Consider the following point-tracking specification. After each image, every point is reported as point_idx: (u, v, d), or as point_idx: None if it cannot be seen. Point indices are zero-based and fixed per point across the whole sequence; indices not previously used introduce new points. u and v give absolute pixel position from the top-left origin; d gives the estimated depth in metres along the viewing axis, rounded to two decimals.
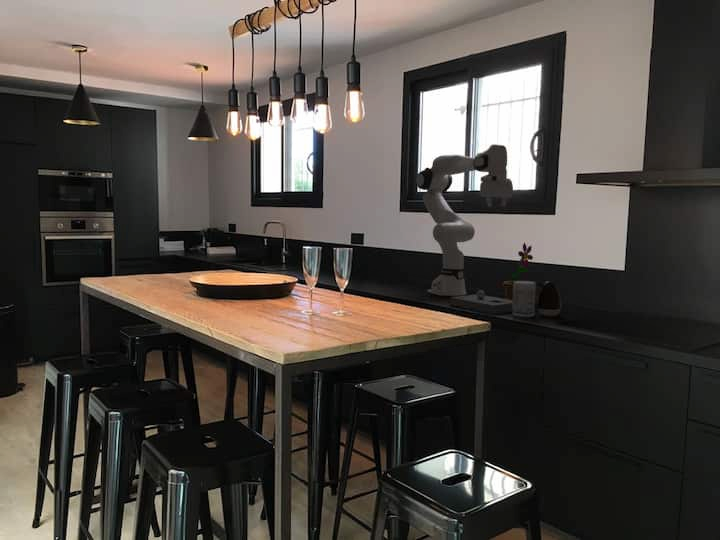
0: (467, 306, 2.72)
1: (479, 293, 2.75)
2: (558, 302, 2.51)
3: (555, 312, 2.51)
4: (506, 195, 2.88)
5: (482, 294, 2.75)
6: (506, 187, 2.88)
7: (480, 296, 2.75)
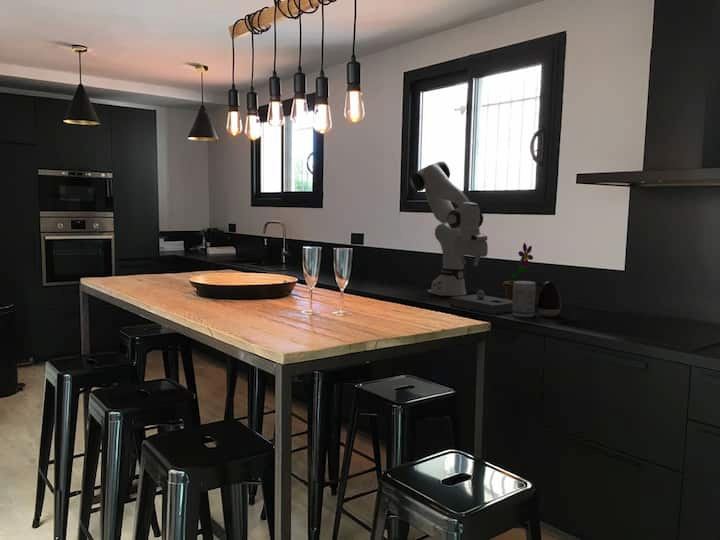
0: (467, 306, 2.72)
1: (479, 293, 2.75)
2: (558, 302, 2.51)
3: (555, 312, 2.51)
4: None
5: (482, 294, 2.75)
6: None
7: (480, 296, 2.75)
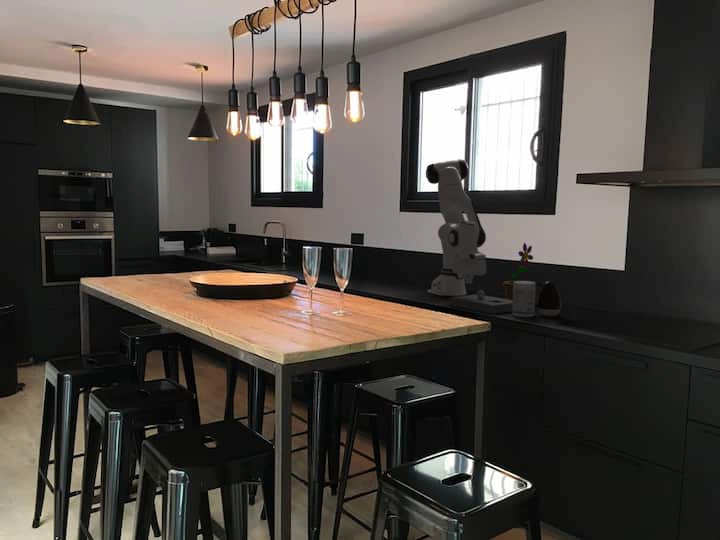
0: (467, 306, 2.72)
1: (479, 293, 2.75)
2: (558, 302, 2.51)
3: (555, 312, 2.51)
4: None
5: (482, 294, 2.75)
6: None
7: (480, 296, 2.75)
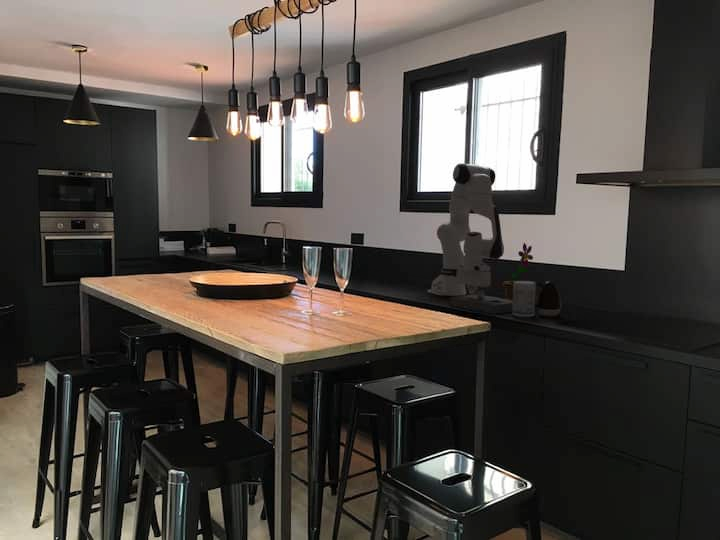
0: (467, 306, 2.72)
1: (479, 293, 2.75)
2: (558, 302, 2.51)
3: (555, 312, 2.51)
4: None
5: (482, 294, 2.75)
6: None
7: (480, 296, 2.75)
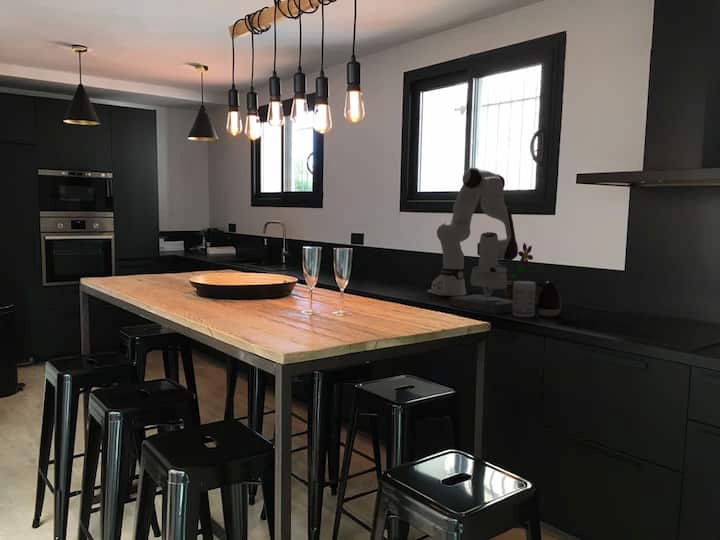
0: (467, 306, 2.72)
1: None
2: (558, 302, 2.51)
3: (555, 312, 2.51)
4: None
5: None
6: None
7: None
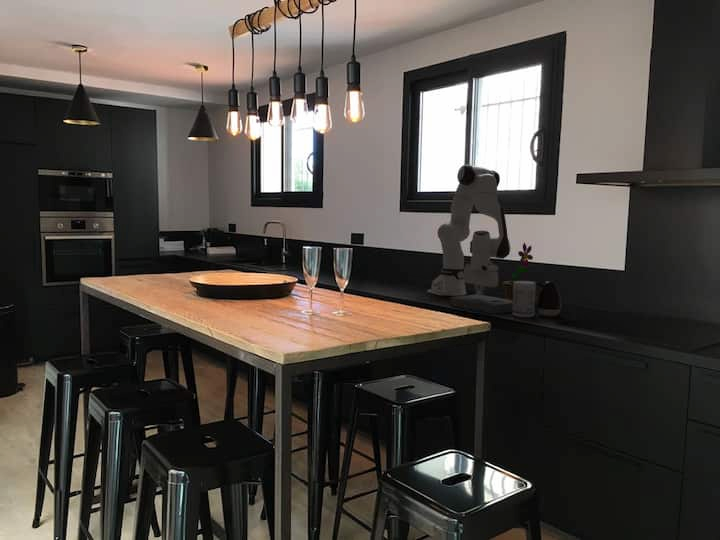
0: (467, 306, 2.72)
1: None
2: (558, 302, 2.51)
3: (555, 312, 2.51)
4: None
5: None
6: None
7: None
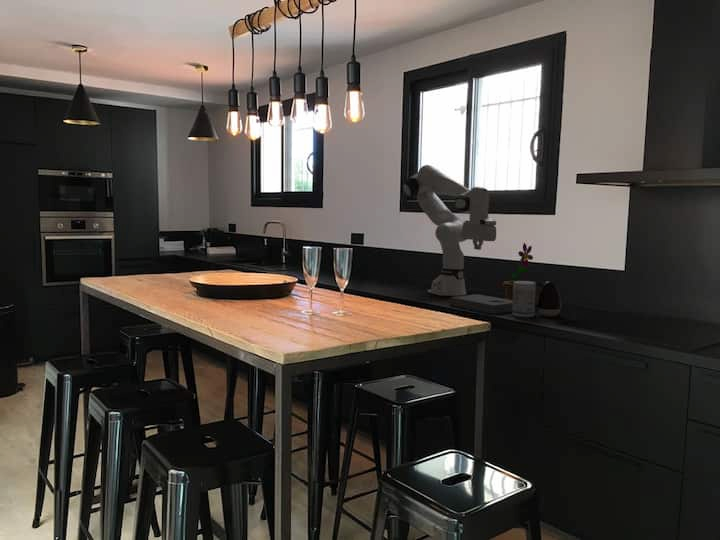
0: (467, 306, 2.72)
1: None
2: (558, 302, 2.51)
3: (555, 312, 2.51)
4: None
5: None
6: None
7: None
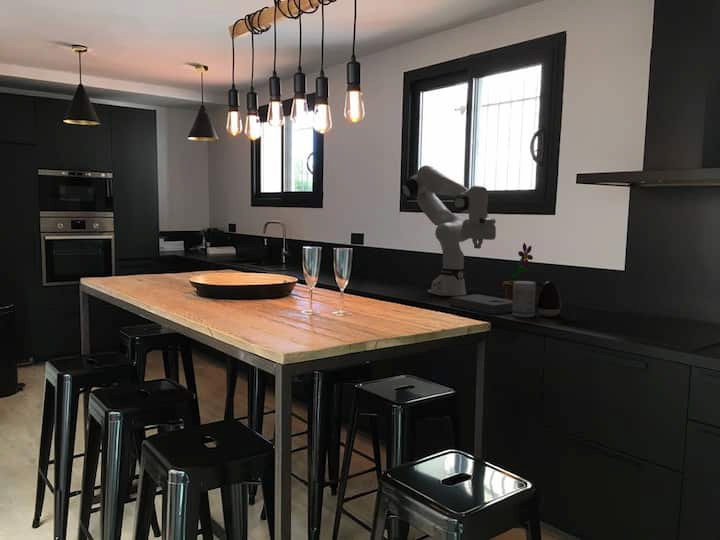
0: (467, 306, 2.72)
1: None
2: (558, 302, 2.51)
3: (555, 312, 2.51)
4: None
5: None
6: None
7: None
